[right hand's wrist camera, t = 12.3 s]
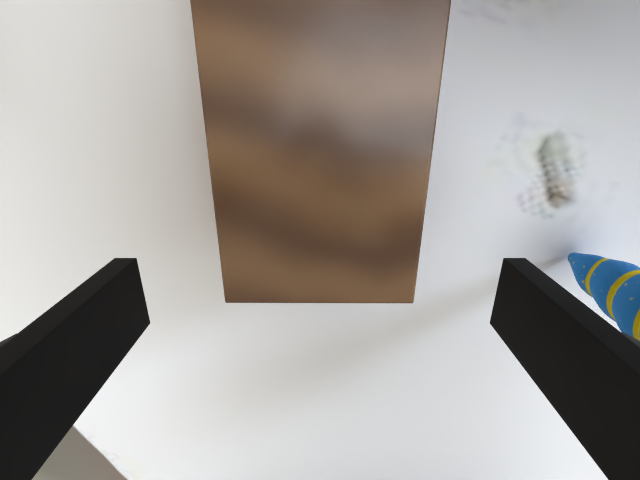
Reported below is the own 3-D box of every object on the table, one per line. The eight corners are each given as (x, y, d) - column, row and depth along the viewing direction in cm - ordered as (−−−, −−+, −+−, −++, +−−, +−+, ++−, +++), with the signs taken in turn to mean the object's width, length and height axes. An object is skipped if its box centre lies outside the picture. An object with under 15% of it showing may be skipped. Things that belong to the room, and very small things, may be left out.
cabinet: (231, -55, 22) (171, -156, 13) (409, -53, 22) (471, -154, 13) (253, 239, 29) (225, 303, 20) (385, 239, 29) (413, 303, 20)
